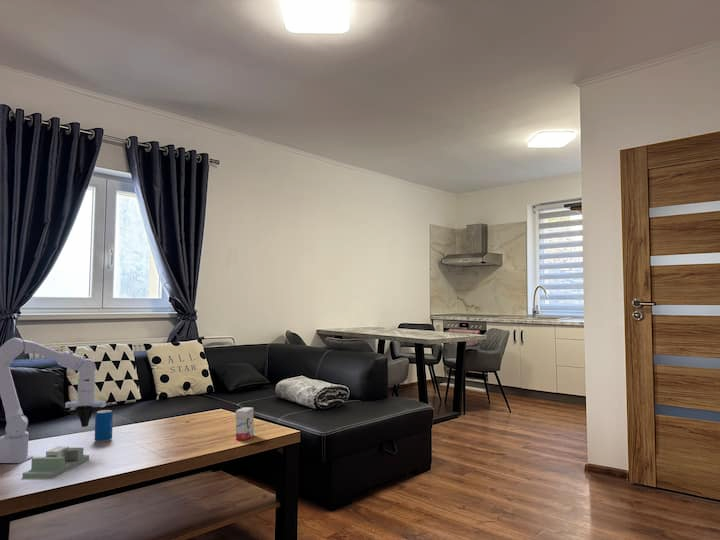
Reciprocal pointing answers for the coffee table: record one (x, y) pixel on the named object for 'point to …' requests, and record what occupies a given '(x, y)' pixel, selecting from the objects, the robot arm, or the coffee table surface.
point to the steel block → (58, 452)
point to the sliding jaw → (75, 453)
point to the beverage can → (103, 425)
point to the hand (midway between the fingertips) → (84, 426)
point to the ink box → (244, 423)
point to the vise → (51, 466)
